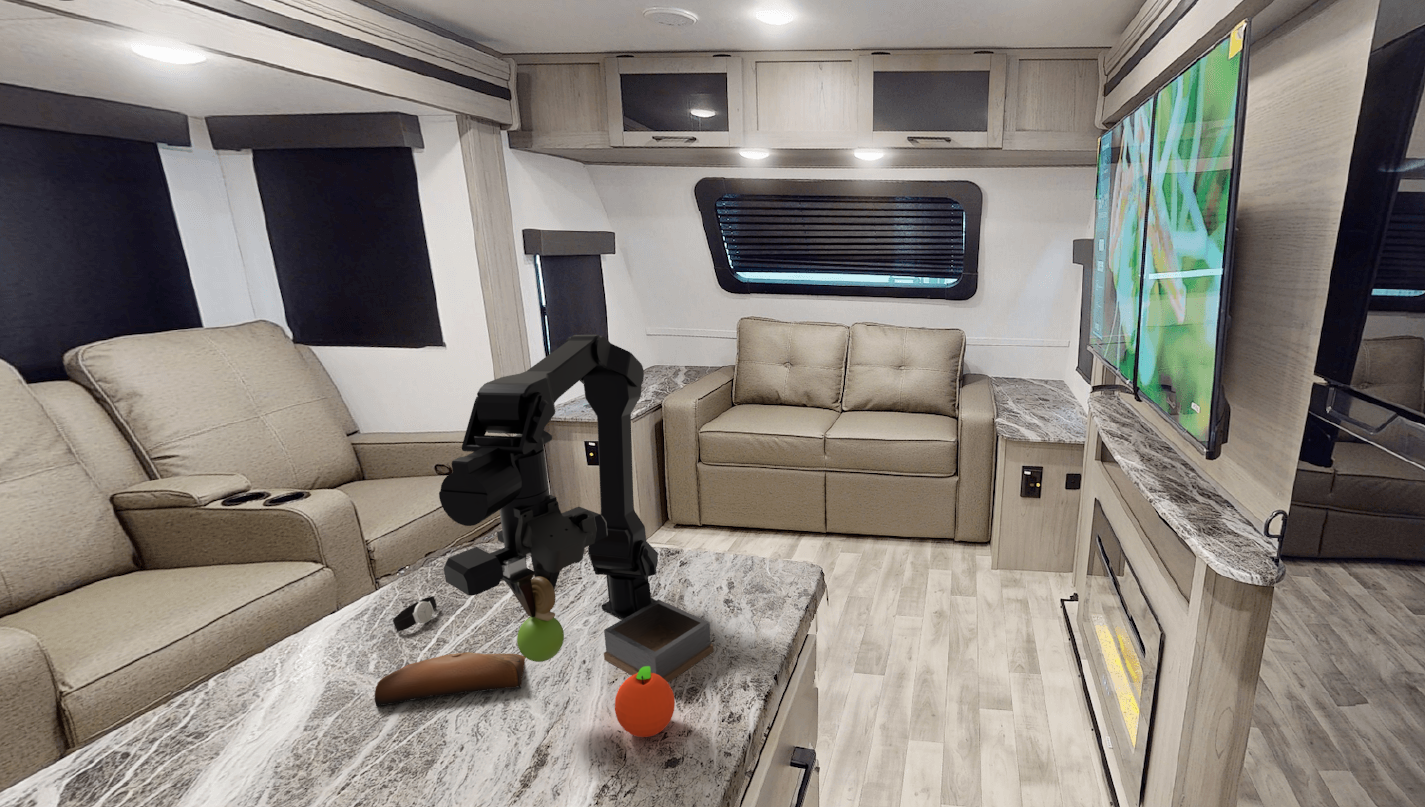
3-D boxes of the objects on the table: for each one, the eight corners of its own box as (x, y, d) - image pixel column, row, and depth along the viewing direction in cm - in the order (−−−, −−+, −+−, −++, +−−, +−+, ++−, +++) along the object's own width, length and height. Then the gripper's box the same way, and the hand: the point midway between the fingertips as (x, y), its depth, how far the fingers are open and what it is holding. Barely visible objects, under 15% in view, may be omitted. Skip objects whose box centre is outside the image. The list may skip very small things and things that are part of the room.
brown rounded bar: (529, 652, 97) (520, 629, 92) (526, 702, 92) (517, 680, 87) (395, 669, 95) (380, 646, 90) (385, 721, 90) (368, 699, 85)
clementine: (623, 705, 85) (618, 653, 83) (679, 703, 85) (675, 652, 83) (612, 752, 77) (606, 696, 76) (674, 750, 77) (669, 695, 75)
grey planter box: (604, 659, 94) (601, 630, 93) (660, 625, 102) (658, 598, 101) (657, 690, 87) (654, 658, 86) (713, 651, 95) (711, 622, 94)
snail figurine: (538, 640, 87) (537, 549, 85) (573, 657, 84) (573, 562, 82) (502, 657, 83) (500, 562, 81) (538, 676, 79) (536, 576, 77)
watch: (411, 637, 103) (407, 615, 102) (385, 633, 104) (381, 611, 104) (445, 610, 110) (442, 589, 109) (421, 606, 112) (418, 586, 111)
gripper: (485, 536, 67) (506, 677, 71) (631, 480, 80) (642, 601, 84) (431, 510, 74) (452, 639, 78) (573, 462, 87) (585, 575, 91)
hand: (538, 612), depth 82 cm, fingers closed on snail figurine
